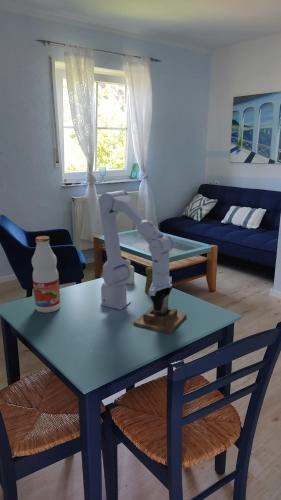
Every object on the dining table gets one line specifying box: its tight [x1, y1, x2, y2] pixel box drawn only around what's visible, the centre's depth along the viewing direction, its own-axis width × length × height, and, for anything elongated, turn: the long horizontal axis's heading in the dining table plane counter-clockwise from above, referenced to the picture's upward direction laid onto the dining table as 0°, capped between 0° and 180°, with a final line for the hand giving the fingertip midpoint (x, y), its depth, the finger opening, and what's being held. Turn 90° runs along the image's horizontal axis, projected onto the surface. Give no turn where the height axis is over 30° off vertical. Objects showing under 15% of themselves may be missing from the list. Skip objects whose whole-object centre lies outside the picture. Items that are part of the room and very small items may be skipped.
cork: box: [144, 265, 152, 295], centre depth 160 cm, size 6×6×11 cm
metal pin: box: [152, 294, 169, 317], centre depth 133 cm, size 4×4×8 cm
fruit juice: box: [31, 235, 61, 314], centre depth 142 cm, size 9×9×28 cm
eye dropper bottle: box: [125, 256, 135, 285], centre depth 169 cm, size 4×6×12 cm
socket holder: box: [133, 306, 187, 335], centre depth 134 cm, size 14×14×4 cm
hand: (160, 307), depth 133 cm, fingers closed on metal pin, 4 cm apart
